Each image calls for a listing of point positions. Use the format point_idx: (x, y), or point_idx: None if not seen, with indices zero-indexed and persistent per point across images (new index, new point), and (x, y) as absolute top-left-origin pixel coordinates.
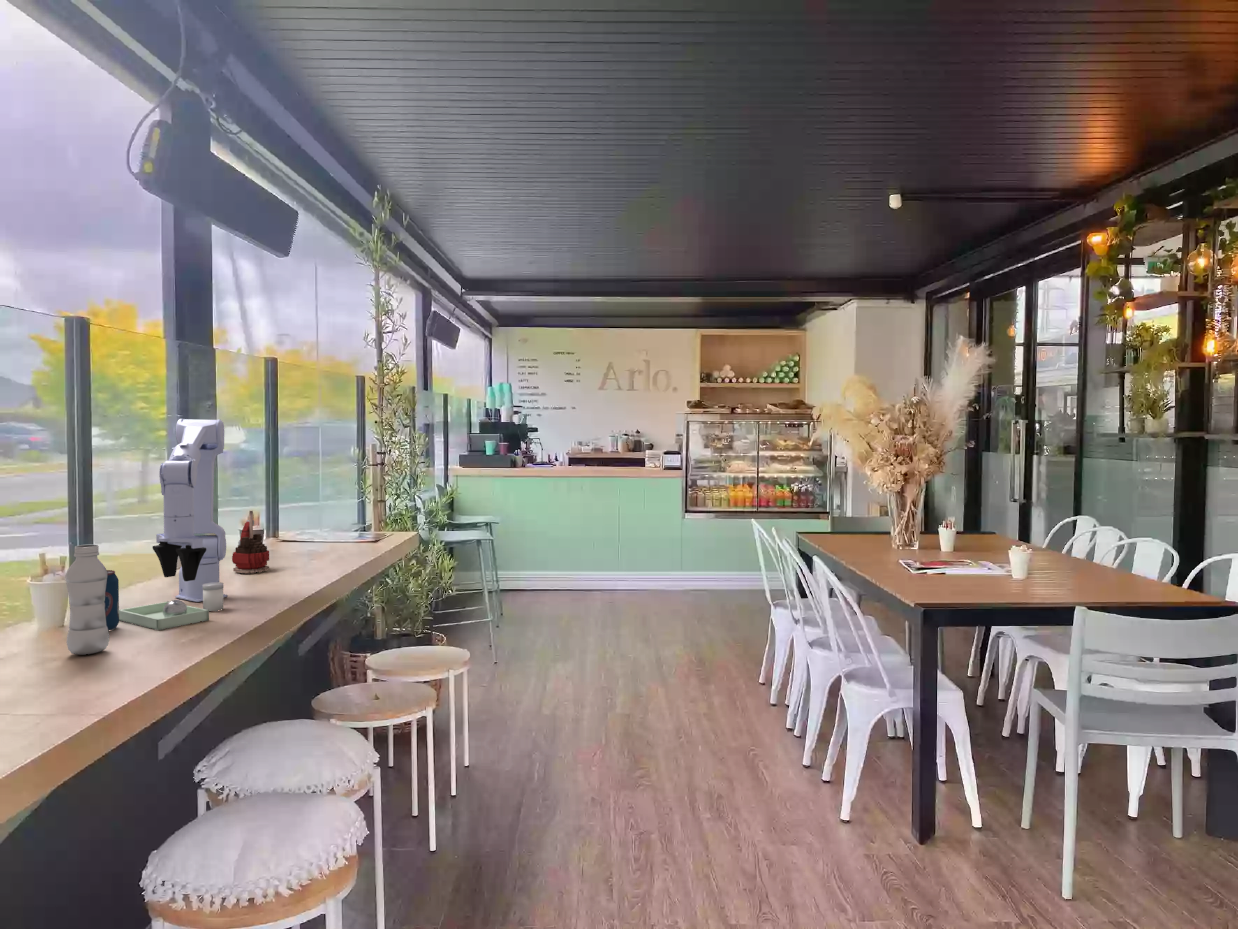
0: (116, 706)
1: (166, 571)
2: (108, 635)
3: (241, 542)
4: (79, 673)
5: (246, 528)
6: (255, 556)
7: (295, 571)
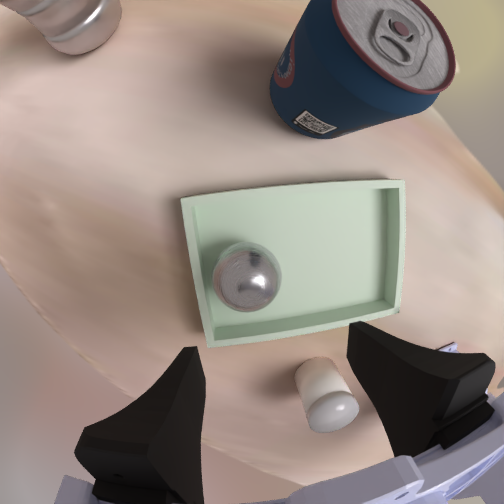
0: None
1: (361, 339)
2: (56, 48)
3: None
4: (14, 31)
5: None
6: None
7: None
